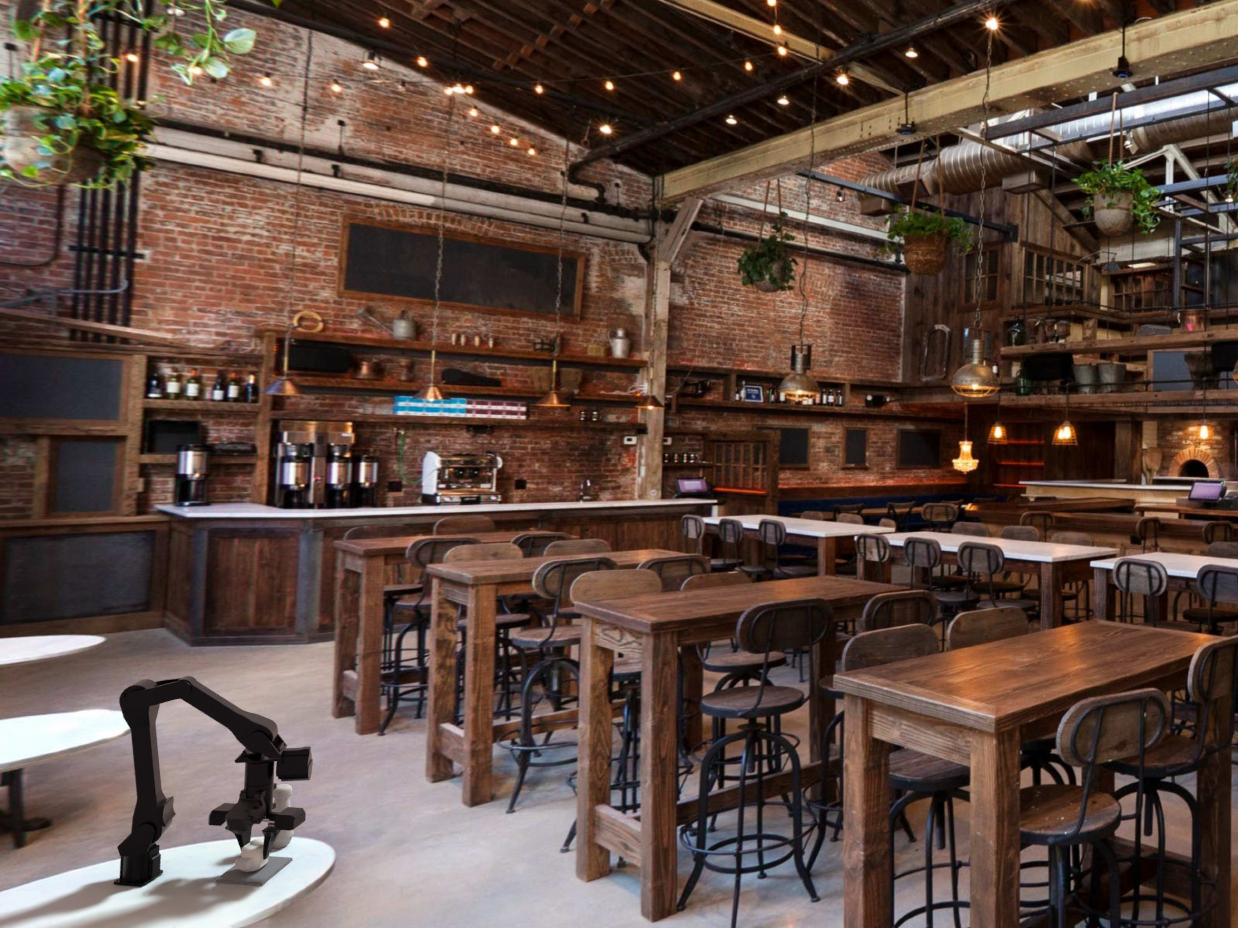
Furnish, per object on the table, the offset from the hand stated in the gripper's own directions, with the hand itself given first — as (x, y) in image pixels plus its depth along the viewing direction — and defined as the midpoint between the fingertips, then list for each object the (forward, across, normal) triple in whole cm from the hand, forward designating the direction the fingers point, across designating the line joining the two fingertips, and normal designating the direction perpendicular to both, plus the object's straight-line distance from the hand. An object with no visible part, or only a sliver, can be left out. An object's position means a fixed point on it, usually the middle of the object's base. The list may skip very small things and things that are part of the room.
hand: (255, 857), depth 171 cm
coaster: (+3, 0, 0) cm, 3 cm away
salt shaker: (+3, -2, +14) cm, 14 cm away
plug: (+1, 0, 0) cm, 1 cm away
